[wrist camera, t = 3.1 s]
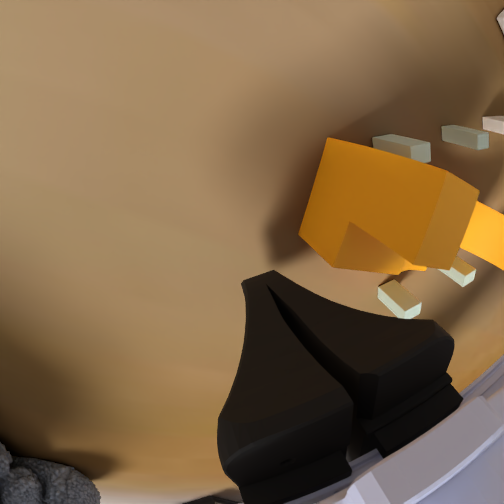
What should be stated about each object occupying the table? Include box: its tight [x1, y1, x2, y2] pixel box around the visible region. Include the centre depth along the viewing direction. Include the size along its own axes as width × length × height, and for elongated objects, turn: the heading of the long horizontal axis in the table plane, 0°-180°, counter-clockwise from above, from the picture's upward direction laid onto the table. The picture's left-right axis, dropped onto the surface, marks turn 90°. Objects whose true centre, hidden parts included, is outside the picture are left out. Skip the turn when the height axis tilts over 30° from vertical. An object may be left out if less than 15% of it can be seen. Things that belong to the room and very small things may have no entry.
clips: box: [439, 125, 489, 287], centre depth 14 cm, size 9×1×2 cm, turn 13°
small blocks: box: [372, 134, 431, 319], centre depth 13 cm, size 9×1×2 cm, turn 13°
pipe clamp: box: [298, 137, 504, 275], centre depth 12 cm, size 12×4×6 cm, turn 75°
